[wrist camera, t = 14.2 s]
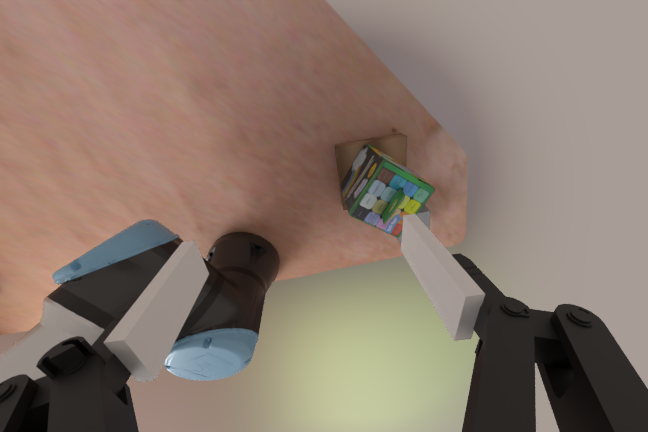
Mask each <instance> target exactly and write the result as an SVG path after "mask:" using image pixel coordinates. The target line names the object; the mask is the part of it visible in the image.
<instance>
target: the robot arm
mask: <svg viewBox="0 0 648 432" xmlns="http://www.w3.org/2000/svg"><path fill="white" fill-rule="evenodd" d="M179 237H180V236H179V235H178V234H174V233H173V232H171V231H170V230H169V229H167V228H166V227H165V226H163V225H162V224H161V223H159V222H158V221H155V220H150V219H147V220H142V221H139V222H137V223H135V224H134V225H132V226H130V227H128V228H127V229H125V230H123V231H122V232H120V233H118V234H117V235H115V236H113V237H112V238H110V239H108V240H107V241H105V242H103V243H102V244H100V245H98V246H97V247H95V248H93V249H92V250H90V251H88V252H87V253H85V254H84V255H82V256H80V257H79V258H77V259H76V260H74V261H72V262H71V263H69V264H68V265H66V266H64V267H62V268H61V269H59V270H58V271H56V272H55V273H54V274H53V276H52V278H53V279H54V283H56V284H58V285H59V284H62V285H61V286H60V287H58V288H57V289H56V290H55V291H53V292H52V293H51V294H50V295H48V296H47V297H46V298H45V299H44V301H43V315H42V318H41V321H40V322H39V323H38V324H37V325H36V326H35V327H34V328H32V329H31V330H30V331H29V332H28V333H26V334H25V335H24V336H23V337H22V338H21V339H19V340H18V341H17V342H16V343H15V344H13V345H12V346H11V347H10V348H9V349H7V350H6V351H5V352H4V353H3V354H2V355H0V432H139V431H138V427H137V422H136V417H135V412H134V408H133V403H132V398H131V393H130V388H129V387H128V385H127V384H126V382H127V380H128V379H129V377H130V375H132V376H133V377H134V378H135V379H136V380H137V381H138V382H141V381H148V380H155V379H156V378H157V376H158V374H159V372H160V370H161V368H162V366H163V364H165V367H166V369H167V370H168V371H170V372H171V373H172V374H174V375H176V376H179V377H182V378H186V379H190V380H216V379H222V378H226V377H229V376H232V375H234V374H236V373H238V372H240V371H241V370H243V369H244V368H245V367H246V366H247V365H248V364H249V362H250V361H251V359H252V356H253V352H254V349H255V345H256V343H257V340H258V334H259V328H260V322H261V316H262V310H263V305H264V299H265V293H266V292H267V290H268V288H269V287H270V286H271V284H272V282H273V281H274V280H275V278H276V276H277V273H278V269H279V256H278V253H277V251H276V250H275V248H274V247H273V246H272V245H271V244H270V243H269V242H268V241H267V240H265V239H264V238H262V237H260V236H257V235H254V234H251V233H243V232H239V233H231V234H228V235H225V236H223V237H221V238H220V239H218V240H217V241H216V242H215V243H214V244H213V246H212V247H211V249H210V251H209V253H208V255H207V259H206V260H205V259H204V258H203V257H202V256H201V254H200V251H199V249H198V247H197V245H196V242H195V240H194V241H186V242H184V241H183V240H181V239H180V238H179ZM401 252H402V253H403V255H404V257H405V258H406V260H407V262H408V263H409V265H410V267H411V268H412V270H413V272H414V273H415V275H416V277H417V279H418V280H419V282H420V284H421V285H422V287H423V289H424V291H425V292H426V294H427V296H428V297H429V299H430V301H431V302H432V304H433V306H434V308H435V309H436V311H437V313H438V314H439V316H440V318H441V319H442V321H443V323H444V324H445V326H446V328H447V330H448V331H449V333H450V335H451V336H452V338H453V340H454V341H457V340H464V339H471V337H472V334H473V331H475V332H476V333H477V335H478V336H479V338H480V339H479V342H478V345H477V348H476V351H475V353H476V358H475V363H474V369H473V374H472V379H471V385H470V390H469V396H468V401H467V407H466V412H465V418H464V423H463V428H462V432H536V416H535V363H537V366H538V369H539V372H540V375H541V378H542V381H543V384H544V387H545V390H546V392H547V395H548V398H549V401H550V404H551V407H552V410H553V413H554V416H555V419H556V422H557V425H558V428H559V431H560V432H648V389H647V388H646V386H645V384H644V383H643V381H642V380H641V378H640V377H639V375H638V374H637V372H636V371H635V369H634V368H633V366H632V365H631V363H630V362H629V360H628V359H627V357H626V356H625V354H624V353H623V351H622V350H621V348H620V347H619V345H618V344H617V342H616V341H615V339H614V337H613V336H612V334H611V333H610V331H609V330H608V328H607V327H606V325H605V324H604V323H603V322H602V321H601V319H600V318H599V317H597V316H596V315H595V314H593V313H592V312H590V311H588V310H586V309H584V308H582V307H579V306H575V305H571V304H562V305H558V307H557V308H556V309H555V311H554V312H548V311H540V310H533V309H529V307H528V306H526V305H525V304H524V303H522V302H520V301H519V300H516V299H514V298H510V297H506V296H504V295H503V293H502V292H501V291H499V289H498V288H497V287H496V286H495V285H494V284H493V283H492V282H491V281H490V280H489V279H488V278H487V277H486V276H485V275H484V274H483V273H482V272H481V270H480V269H479V268H477V266H476V265H475V264H474V263H473V262H472V261H471V260H470V259H468V258H467V257H465V256H463V255H462V254H453V255H451V254H450V253H449V252H448V251H447V250H446V248H445V247H444V246H443V245H442V244H441V243H440V241H439V240H438V239H437V238H436V237H435V236H434V235H433V233H432V232H431V231H430V230H429V229H428V228H427V227H426V225H425V224H424V223H423V222H422V221H421V220H420V219H419V217H418V216H417V215H416V214H410V215H403V228H402V241H401Z"/></svg>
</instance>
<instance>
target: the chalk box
mask: <svg viewBox="0 0 648 432" xmlns="http://www.w3.org/2000/svg"><path fill="white" fill-rule="evenodd" d="M340 188H341V191H342V194H343V197H344V200H345V203H346V206H347V209H348V212H349V215H350V216H352V217H354V218H356V219H358V220H361V221H363V222H365V223H367V224H369V225H371V226H374V227H376V228H378V229H380V230H382V231H384V232H386V233H388V234H391V235H393V236H395V237H397V238H399V237H400V236H401V234H402V228H403V215H410V214H416V215H417V214H418V212H419V211H420V210H421V208H422V207H423V205H424V204H425V203H426V201H427V200H428V199H429V197H430V196H431V195H432V193H433V192H434V190H435V188H434V187H433V186H432V185H430V184H429V183H428V182H426V181H425V180H423V179H422V178H421V177H419V176H418V175H417V174H415V173H414V172H413V171H411V170H410V169H409V168H407V167H406V166H405V165H403V164H401V163H400V162H398V161H396V160H395V159H393V158H391V157H390V156H388V155H386V154H384V153H383V152H381V151H379V150H377V149H376V148H374V147H372V146H371V145H369V144H365V145H364V146H363V148H362V149H361V151H360V153H359V154H358V156H357V157H356V159H355V161H354V162H353V164H352V166H351V168H350V169H349V171H348V173H347V174H346V176H345V178H344V179H343V181H342V183H341V185H340Z"/></svg>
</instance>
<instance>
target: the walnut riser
mask: <svg viewBox="0 0 648 432" xmlns="http://www.w3.org/2000/svg"><path fill="white" fill-rule="evenodd" d="M365 144H369V145H371V146H372V147H374V148H376V149H377V150H379V151H381V152H383V153H384V154H386V155H388V156H390V157H391V158H393V159H395V160H396V161H398V162H400V163H401V164H403V165H405V166H406V150H407V136H406V135H404V134H395V135H389V136H383V137H377V138H371V139H365V140H359V141H353V142H347V143H341V144H335V152H336V160H337V168H338V176H339V184H340V185H341V183H342V181H343V179H344V178H345V176H346V174H347V173H348V171H349V169H350V168H351V166H352V164H353V162H354V161H355V159H356V157H357V156H358V154H359V153H360V151H361V149H362V148H363V146H364V145H365ZM340 192H341V201H342V206H343V209H344V210H347V206H346V203H345V200H344V197H343V194H342V191H341V188H340Z"/></svg>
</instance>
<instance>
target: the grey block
mask: <svg viewBox="0 0 648 432" xmlns="http://www.w3.org/2000/svg"><path fill="white" fill-rule="evenodd" d="M417 216H418V217H419V219H420V220H421V221H422V222H423V223H424V224H425V225H426V227H427V228H428V229H429V230H430V210H429V209H428V208H427V207H426V206H425V205H423V207H422V208H421V210H420V211H419V212H418V214H417ZM397 239H398V241H399V242H400V243H401V241H402V234H401V236H400V237H399V238H397Z"/></svg>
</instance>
